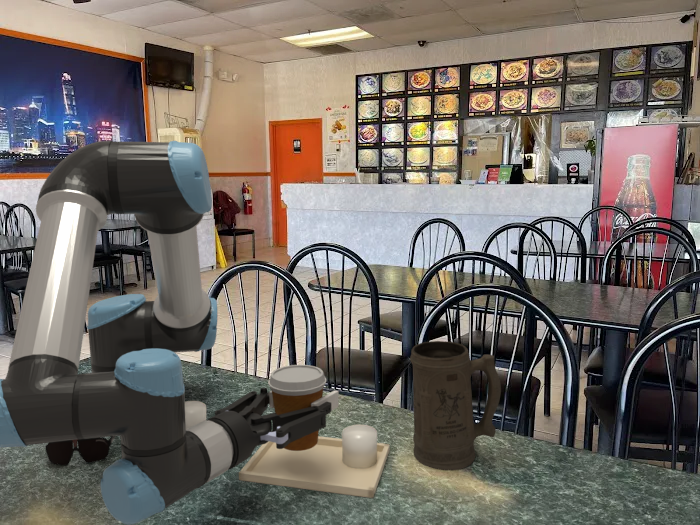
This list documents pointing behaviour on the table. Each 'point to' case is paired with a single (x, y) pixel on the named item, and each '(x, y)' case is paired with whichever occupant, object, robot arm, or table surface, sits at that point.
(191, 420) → the rounded white cap
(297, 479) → the serving tray
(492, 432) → the beer stein
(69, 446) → the sunglasses
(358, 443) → the white rounded cylinder
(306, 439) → the disposable coffee cup
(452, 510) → the table surface
